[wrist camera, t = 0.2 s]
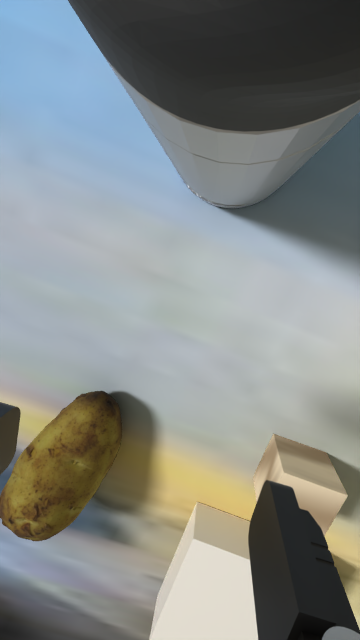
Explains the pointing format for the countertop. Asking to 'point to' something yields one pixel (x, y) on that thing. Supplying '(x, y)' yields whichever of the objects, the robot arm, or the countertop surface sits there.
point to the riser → (208, 582)
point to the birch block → (303, 478)
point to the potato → (62, 468)
